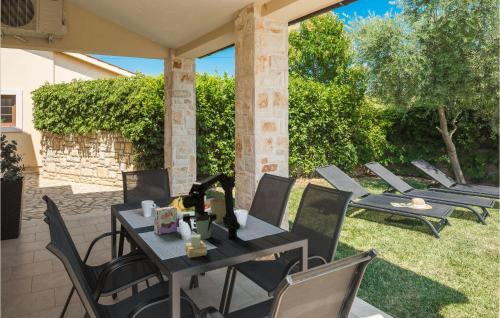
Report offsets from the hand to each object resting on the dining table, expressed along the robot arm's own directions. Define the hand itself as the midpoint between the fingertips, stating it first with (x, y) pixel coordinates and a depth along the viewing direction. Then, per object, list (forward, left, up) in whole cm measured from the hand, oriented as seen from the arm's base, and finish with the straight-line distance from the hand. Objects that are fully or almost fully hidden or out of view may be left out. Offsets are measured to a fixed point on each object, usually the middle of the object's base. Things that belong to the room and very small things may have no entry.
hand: (200, 231), depth 193 cm
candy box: (-38, -21, -12) cm, 45 cm away
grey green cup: (-25, +3, -12) cm, 28 cm away
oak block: (+2, -3, -12) cm, 12 cm away
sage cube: (+1, -2, -7) cm, 7 cm away
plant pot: (-56, +17, -12) cm, 60 cm away
